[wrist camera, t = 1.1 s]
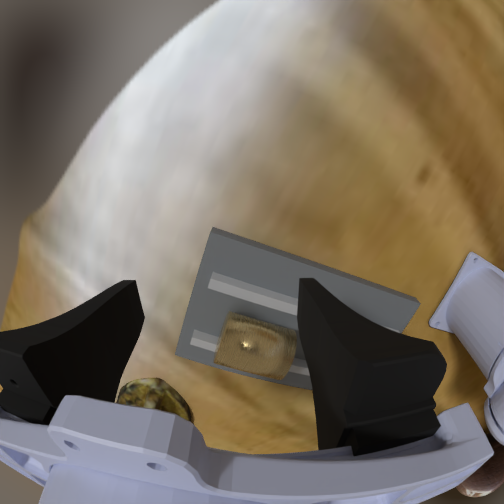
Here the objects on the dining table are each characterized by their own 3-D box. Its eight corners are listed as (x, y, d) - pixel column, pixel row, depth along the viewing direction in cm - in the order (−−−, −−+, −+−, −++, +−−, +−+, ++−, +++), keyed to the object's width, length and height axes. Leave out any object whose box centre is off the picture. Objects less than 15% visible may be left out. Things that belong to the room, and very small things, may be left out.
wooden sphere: (447, 447, 36) (467, 504, 22) (506, 408, 33) (533, 459, 19) (443, 465, 41) (459, 512, 27) (495, 434, 38) (515, 477, 24)
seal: (184, 439, 34) (200, 380, 28) (182, 466, 30) (198, 416, 24) (120, 426, 32) (114, 361, 26) (114, 452, 28) (103, 395, 22)
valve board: (415, 297, 22) (447, 340, 17) (349, 389, 27) (361, 434, 21) (212, 227, 20) (195, 263, 15) (177, 347, 25) (160, 396, 19)
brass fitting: (297, 320, 21) (295, 367, 18) (277, 344, 24) (273, 387, 21) (233, 300, 21) (222, 348, 18) (220, 328, 23) (210, 371, 20)
